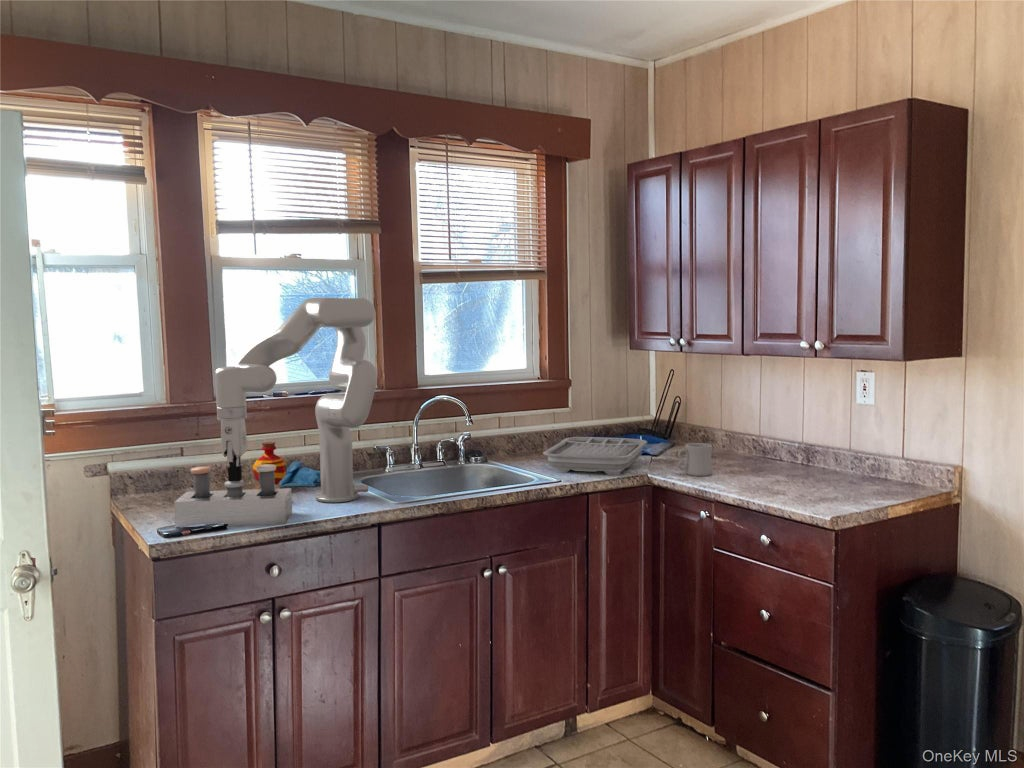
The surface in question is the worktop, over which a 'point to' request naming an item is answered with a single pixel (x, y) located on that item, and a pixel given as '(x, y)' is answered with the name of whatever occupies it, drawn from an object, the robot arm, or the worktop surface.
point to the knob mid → (234, 488)
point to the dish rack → (594, 454)
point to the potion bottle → (271, 462)
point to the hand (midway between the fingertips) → (235, 480)
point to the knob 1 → (201, 482)
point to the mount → (234, 508)
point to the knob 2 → (266, 480)
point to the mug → (697, 459)
